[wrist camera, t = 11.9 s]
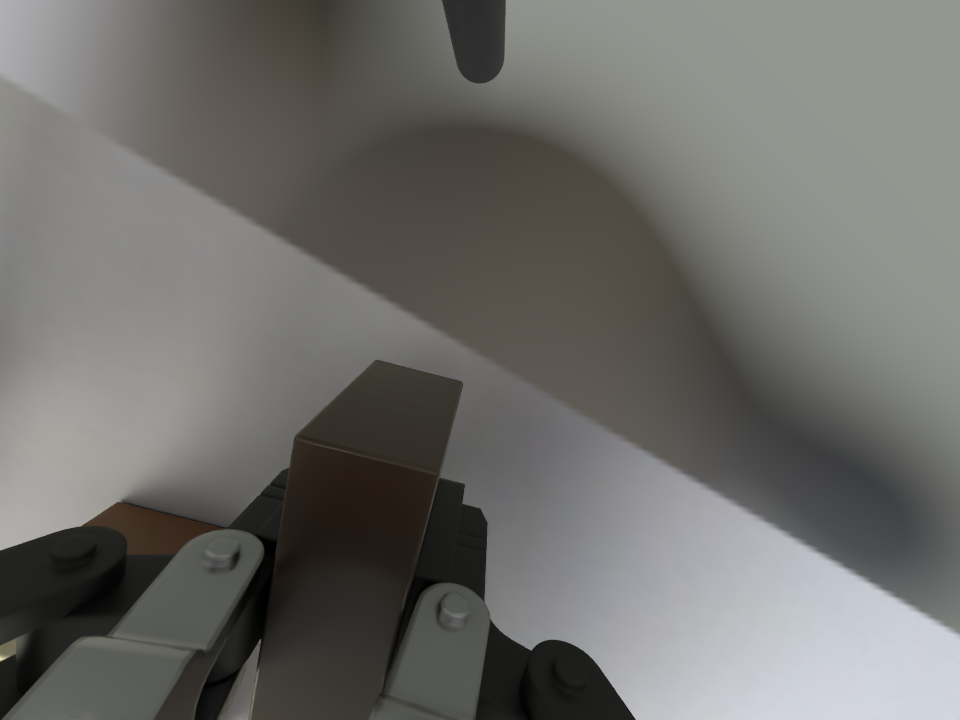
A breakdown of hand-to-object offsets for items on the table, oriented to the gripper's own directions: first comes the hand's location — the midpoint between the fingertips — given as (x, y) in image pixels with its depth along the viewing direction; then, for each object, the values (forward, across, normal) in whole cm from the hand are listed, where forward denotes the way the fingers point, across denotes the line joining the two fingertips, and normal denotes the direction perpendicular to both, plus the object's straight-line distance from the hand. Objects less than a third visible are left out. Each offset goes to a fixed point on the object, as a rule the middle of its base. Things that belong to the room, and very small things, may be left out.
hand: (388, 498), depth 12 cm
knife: (0, 0, +4) cm, 5 cm away
